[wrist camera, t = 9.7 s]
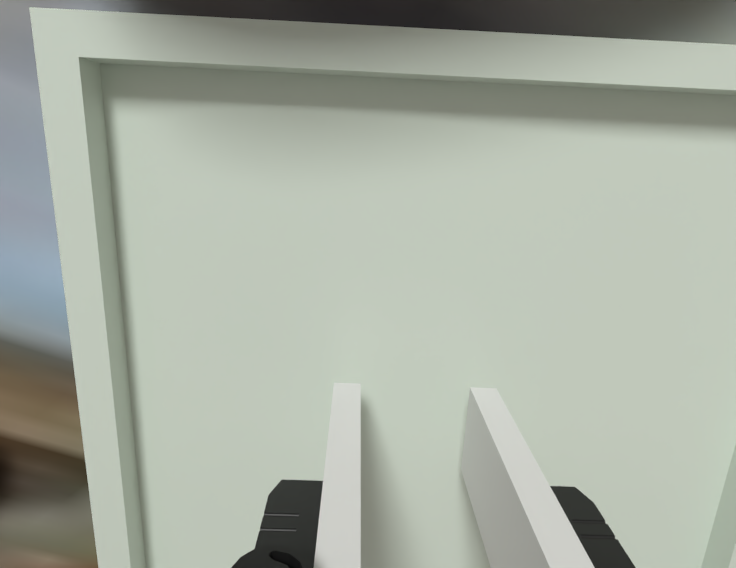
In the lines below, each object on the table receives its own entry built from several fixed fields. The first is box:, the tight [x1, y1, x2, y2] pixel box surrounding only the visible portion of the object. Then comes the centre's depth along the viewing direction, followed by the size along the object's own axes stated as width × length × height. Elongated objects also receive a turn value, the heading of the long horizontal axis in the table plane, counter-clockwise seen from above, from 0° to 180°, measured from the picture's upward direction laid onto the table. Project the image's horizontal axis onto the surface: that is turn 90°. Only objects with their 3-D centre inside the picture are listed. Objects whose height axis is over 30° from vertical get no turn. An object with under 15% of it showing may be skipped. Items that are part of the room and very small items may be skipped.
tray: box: [29, 7, 736, 568], centre depth 15 cm, size 21×21×2 cm
